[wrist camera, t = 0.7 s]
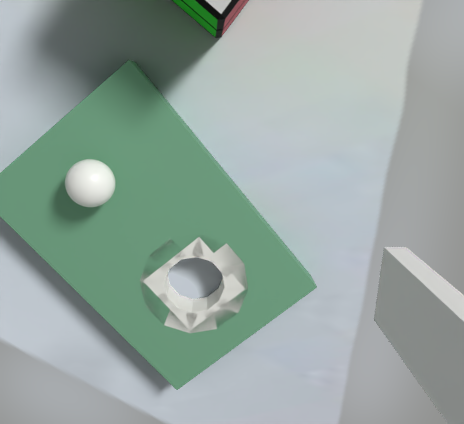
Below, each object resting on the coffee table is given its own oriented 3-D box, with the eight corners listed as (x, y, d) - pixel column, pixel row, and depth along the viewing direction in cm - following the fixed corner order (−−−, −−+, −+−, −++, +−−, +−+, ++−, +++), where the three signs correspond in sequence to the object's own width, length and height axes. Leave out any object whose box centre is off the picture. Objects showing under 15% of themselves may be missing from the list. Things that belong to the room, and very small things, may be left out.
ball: (63, 175, 35) (47, 185, 31) (97, 146, 34) (84, 153, 31) (95, 209, 35) (83, 222, 32) (129, 181, 35) (120, 191, 32)
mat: (-9, 186, 37) (-24, 193, 35) (134, 61, 35) (129, 59, 33) (178, 373, 43) (176, 390, 40) (310, 275, 41) (316, 287, 38)
